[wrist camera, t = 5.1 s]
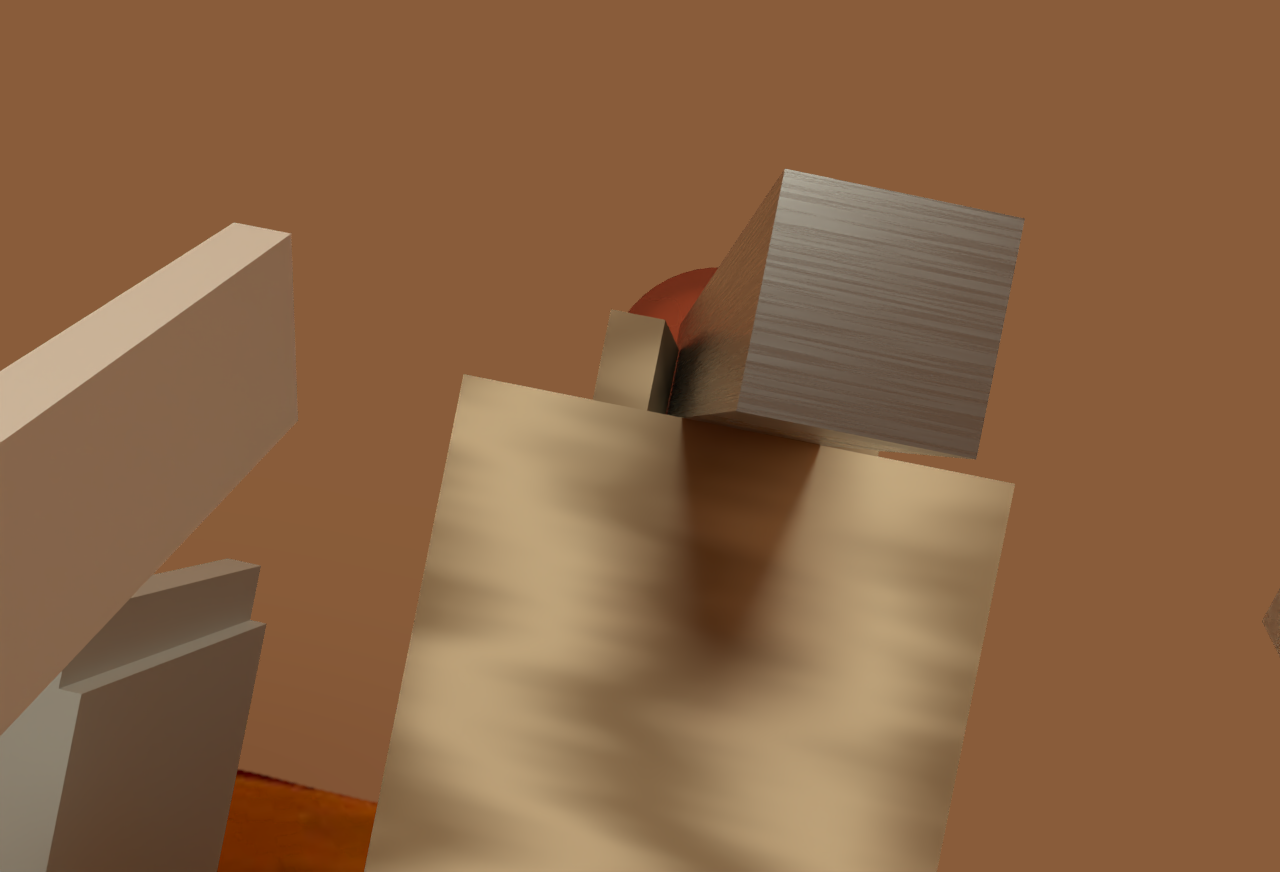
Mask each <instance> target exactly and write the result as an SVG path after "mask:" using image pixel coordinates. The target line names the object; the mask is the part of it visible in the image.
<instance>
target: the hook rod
mask: <svg viewBox="0 0 1280 872" xmlns="http://www.w3.org/2000/svg"><path fill="white" fill-rule="evenodd" d="M1023 224H1024V218H1019V217H1014V216H1009V215H1004V214H1000V213H995V212H989V211H985V210H980V209H975V208H971V207H966V206H961V205H956V204H951V203H947V202H942V201H937V200H932V199H928V198H923V197H918V196H913V195H908V194H904V193H899V192H894V191H889V190H884V189H880V188H875V187H870V186H865V185H860V184H856V183H851V182H846V181H841V180H836V179H832V178H827V177H822V176H817V175H812V174H807V173H803V172H798V171H793V170H788V169H784V171H783V172H782V174H781V176H780V177H779V178H778V180H777V182H776V183H775V184H774V186H773V187H772V189H771V191H770V192H769V193H768V195H767V196H766V198H765V199H764V201H763V202H762V204H761V205H760V207H759V208H758V210H757V211H756V213H755V214H754V215H753V217H752V218H751V220H750V222H749V223H748V224H747V226H746V227H745V229H744V231H743V232H742V233H741V235H740V236H739V238H738V240H737V241H736V242H735V244H734V245H733V247H732V248H731V250H730V251H729V253H728V254H727V256H726V257H725V259H724V260H723V262H722V263H721V265H720V266H719V268H705V269H697V270H693V271H689V272H686V273H682V274H680V275H677V276H675V277H672V278H670V279H668V280H666V281H664V282H662V283H661V284H659V285H657V286H655V287H654V288H653V289H651V290H650V291H649V292H648V293H646V294H645V295H644V296H643V297H642V298H641V299H640V300H639V301H638V302H637V303H636V304H635V305H633V307H632V308H631V309H630V311H629V312H628V313H632V314H637V315H643V316H648V317H653V318H658V319H663V320H666V323H667V325H668V327H669V329H670V331H671V333H672V335H673V338H674V340H675V342H676V344H677V346H678V348H679V352H678V357H677V362H676V367H675V372H674V377H673V382H672V387H671V392H670V397H669V402H668V407H667V412H666V415H671V416H676V417H681V418H686V419H691V420H696V421H701V422H706V423H711V424H716V425H721V426H726V427H731V428H736V429H741V430H746V431H751V432H756V433H761V434H766V435H771V436H776V437H781V438H786V439H791V440H796V441H801V442H806V443H811V444H816V445H822V446H833V447H844V448H855V449H866V450H878V451H889V452H901V453H911V454H922V455H935V456H945V457H955V458H966V459H976V456H977V452H978V447H979V442H980V437H981V432H982V427H983V423H984V418H985V413H986V408H987V402H988V397H989V393H990V388H991V383H992V378H993V373H994V368H995V363H996V358H997V353H998V348H999V343H1000V338H1001V333H1002V328H1003V323H1004V318H1005V313H1006V308H1007V303H1008V299H1009V294H1010V288H1011V284H1012V278H1013V274H1014V269H1015V264H1016V259H1017V254H1018V249H1019V244H1020V239H1021V234H1022V229H1023Z"/></svg>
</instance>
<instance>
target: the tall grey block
mask: <svg viewBox="0 0 1280 872" xmlns="http://www.w3.org/2000/svg"><path fill="white" fill-rule="evenodd" d="M260 567H261V566H260V565H255V564H251V563H246V562H242V561H236V560H232V559H224V560H219V561H214V562H210V563H206V564H201V565H197V566H192V567H187V568H183V569H178V570H173V571H169V572H164V573H160V574H156V575H152V576H151V577H150V578H149V579H148V580H147V581H146V582H145V583H144V584H143V585H142V586H141V587H140V589H139V590H138V591H137V592H136V593H135V594H134V595H133V596H132V597H131V598H130V599H129V600H128V601H127V602H126V603H125V604H124V605H123V607H122V608H121V609H120V610H119V611H118V612H117V613H116V614H115V615H114V616H113V617H112V618H111V619H110V620H109V621H108V622H107V624H106V625H105V626H104V627H103V628H102V629H101V630H100V631H99V632H98V633H97V634H96V635H95V636H94V637H93V638H92V639H91V640H90V642H89V643H88V644H87V645H86V646H85V647H84V648H83V649H82V650H81V651H80V652H79V653H78V654H77V655H76V656H75V657H74V658H73V660H72V661H71V662H70V663H69V664H68V665H67V666H66V667H65V668H64V669H63V670H62V671H61V672H60V673H59V674H58V675H57V677H56V678H55V679H54V680H53V681H52V682H51V683H50V684H49V685H48V686H47V687H46V688H45V689H44V690H43V691H42V692H41V693H40V695H39V696H38V697H37V698H36V699H35V700H34V701H33V702H32V703H31V704H30V705H29V706H28V707H27V708H26V709H25V710H24V712H23V713H22V714H21V715H20V716H19V717H18V718H17V719H16V720H15V721H14V722H13V723H12V724H11V725H10V726H9V727H8V728H7V730H6V731H5V732H4V733H3V734H2V735H1V736H0V872H217V869H218V864H219V859H220V854H221V849H222V844H223V839H224V834H225V829H226V824H227V819H228V814H229V809H230V804H231V799H232V794H233V789H234V784H235V779H236V774H237V769H238V764H239V759H240V754H241V749H242V744H243V739H244V734H245V728H246V724H247V719H248V714H249V709H250V704H251V699H252V693H253V688H254V684H255V678H256V673H257V669H258V664H259V659H260V653H261V648H262V643H263V639H264V633H265V628H266V624H265V623H261V622H256V621H252V620H250V617H251V612H252V607H253V602H254V597H255V592H256V587H257V582H258V577H259V572H260Z"/></svg>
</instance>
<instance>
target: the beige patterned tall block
mask: <svg viewBox="0 0 1280 872" xmlns="http://www.w3.org/2000/svg"><path fill="white" fill-rule="evenodd" d="M678 352H679V348H678V346H677V344H676V342H675V340H674V338H673V335H672V333H671V331H670V329H669V327H668V325H667V323H666V320H663V319H658V318H653V317H648V316H643V315H637V314H632V313H626V312H622V311H616V310H611V312H610V317H609V322H608V327H607V332H606V337H605V342H604V347H603V352H602V357H601V362H600V367H599V372H598V377H597V382H596V387H595V392H594V397H593V400H590V399H585V398H580V397H575V396H570V395H565V394H560V393H555V392H550V391H545V390H540V389H535V388H530V387H525V386H520V385H515V384H510V383H505V382H500V381H494V380H490V379H484V378H480V377H475V376H470V375H465V374H464V375H463V381H462V385H461V391H460V395H459V400H458V405H457V410H456V415H455V420H454V425H453V431H452V435H451V441H450V445H449V451H448V455H447V461H446V465H445V470H444V475H443V481H442V486H441V491H440V495H439V500H438V506H437V511H436V515H435V521H434V525H433V530H432V536H431V540H430V545H429V550H428V555H427V561H426V566H425V570H424V576H423V580H422V585H421V590H420V595H419V600H418V605H417V611H416V615H415V620H414V625H413V630H412V636H411V640H410V645H409V651H408V656H407V660H406V665H405V670H404V675H403V680H402V685H401V690H400V695H399V700H398V706H397V711H396V716H395V720H394V725H393V731H392V735H391V741H390V745H389V751H388V756H387V760H386V766H385V771H384V775H383V780H382V785H381V790H380V795H379V800H378V805H377V810H376V815H375V820H374V825H373V830H372V835H371V840H370V845H369V850H368V855H367V860H366V865H365V870H364V872H937V867H938V862H939V857H940V852H941V847H942V843H943V837H944V833H945V828H946V823H947V818H948V813H949V808H950V803H951V798H952V792H953V788H954V783H955V778H956V773H957V768H958V763H959V758H960V753H961V748H962V743H963V738H964V734H965V729H966V723H967V718H968V714H969V709H970V704H971V699H972V694H973V689H974V684H975V679H976V674H977V669H978V664H979V659H980V654H981V649H982V644H983V639H984V635H985V630H986V625H987V619H988V615H989V610H990V605H991V600H992V595H993V589H994V585H995V580H996V575H997V570H998V565H999V560H1000V555H1001V550H1002V545H1003V540H1004V536H1005V530H1006V526H1007V521H1008V516H1009V510H1010V506H1011V501H1012V496H1013V491H1014V486H1015V484H1012V483H1007V482H1002V481H997V480H992V479H987V478H982V477H977V476H972V475H967V474H962V473H957V472H952V471H947V470H942V469H937V468H932V467H927V466H922V465H917V464H911V463H907V462H902V461H897V460H892V459H886V458H881V457H878V452H879V451H878V450H866V449H855V448H844V447H833V446H822V445H816V444H811V443H806V442H801V441H796V440H791V439H786V438H781V437H776V436H771V435H766V434H761V433H756V432H751V431H746V430H741V429H736V428H731V427H726V426H721V425H716V424H711V423H706V422H701V421H696V420H691V419H686V418H681V417H676V416H671V415H666V412H667V407H668V402H669V397H670V392H671V387H672V382H673V377H674V372H675V367H676V362H677V357H678Z"/></svg>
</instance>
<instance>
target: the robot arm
mask: <svg viewBox="0 0 1280 872" xmlns="http://www.w3.org/2000/svg"><path fill="white" fill-rule="evenodd" d="M293 302H294V301H293V273H292V246H291V234H290V233H285V232H279V231H275V230H270V229H264V228H259V227H254V226H248V225H244V224H238V223H233V224H231V225H230V226H228V227H226V228H225V229H223V230H222V231H220V232H219V233H217V234H216V235H214V236H212V237H211V238H209V239H208V240H206V241H204V242H203V243H201V244H200V245H198V246H197V247H195V248H193V249H192V250H190V251H189V252H187V253H186V254H184V255H182V256H181V257H179V258H178V259H176V260H175V261H173V262H172V263H170V264H168V265H167V266H165V267H164V268H162V269H161V270H159V271H157V272H156V273H154V274H153V275H151V276H150V277H148V278H146V279H145V280H143V281H142V282H140V283H138V284H137V285H135V286H134V287H132V288H131V289H129V290H127V291H126V292H124V293H123V294H121V295H120V296H118V297H116V298H115V299H113V300H112V301H110V302H109V303H107V304H106V305H104V306H102V307H101V308H99V309H98V310H96V311H95V312H93V313H91V314H90V315H88V316H87V317H85V318H83V319H82V320H80V321H79V322H77V323H76V324H74V325H72V326H71V327H69V328H68V329H66V330H65V331H63V332H62V333H60V334H58V335H57V336H55V337H54V338H52V339H50V340H49V341H47V342H46V343H44V344H42V345H41V346H39V347H38V348H36V349H35V350H33V351H32V352H30V353H29V354H27V355H25V356H24V357H22V358H21V359H19V360H17V361H16V362H14V363H13V364H11V365H10V366H8V367H6V368H5V369H3V370H2V371H0V736H1V735H2V734H3V733H4V732H5V731H6V730H7V728H8V727H9V726H10V725H11V724H12V723H13V722H14V721H15V720H16V719H17V718H18V717H19V716H20V715H21V714H22V713H23V712H24V710H25V709H26V708H27V707H28V706H29V705H30V704H31V703H32V702H33V701H34V700H35V699H36V698H37V697H38V696H39V695H40V693H41V692H42V691H43V690H44V689H45V688H46V687H47V686H48V685H49V684H50V683H51V682H52V681H53V680H54V679H55V678H56V677H57V675H58V674H59V673H60V672H61V671H62V670H63V669H64V668H65V667H66V666H67V665H68V664H69V663H70V662H71V661H72V660H73V658H74V657H75V656H76V655H77V654H78V653H79V652H80V651H81V650H82V649H83V648H84V647H85V646H86V645H87V644H88V643H89V642H90V640H91V639H92V638H93V637H94V636H95V635H96V634H97V633H98V632H99V631H100V630H101V629H102V628H103V627H104V626H105V625H106V624H107V622H108V621H109V620H110V619H111V618H112V617H113V616H114V615H115V614H116V613H117V612H118V611H119V610H120V609H121V608H122V607H123V605H124V604H125V603H126V602H127V601H128V600H129V599H130V598H131V597H132V596H133V595H134V594H135V593H136V592H137V591H138V590H139V589H140V587H141V586H142V585H143V584H144V583H145V582H146V581H147V580H148V579H149V578H150V577H151V576H152V575H153V574H154V573H155V571H156V570H157V569H158V568H159V567H160V566H161V565H162V564H163V563H164V562H165V561H166V560H167V559H168V558H169V557H170V556H171V555H172V553H173V552H174V551H175V550H176V549H177V548H178V547H179V546H180V545H181V544H182V543H183V542H184V541H185V540H186V539H187V537H188V536H189V535H190V534H191V533H192V532H193V531H194V530H195V529H196V528H197V527H198V526H199V525H200V524H201V523H202V521H204V520H205V519H206V517H207V516H208V515H209V514H210V513H211V512H212V511H213V510H214V509H215V508H216V507H217V506H218V505H219V504H220V503H221V502H222V500H223V499H224V498H225V497H226V496H227V495H228V494H229V493H230V492H231V491H232V490H233V489H234V488H235V487H236V486H237V485H238V484H239V482H240V481H241V480H242V479H243V478H244V477H245V476H246V475H247V474H248V473H249V472H250V471H251V470H252V469H253V468H254V467H255V466H256V464H257V463H258V462H259V461H260V460H261V459H262V458H263V457H264V456H265V455H266V454H267V453H268V452H269V451H270V450H271V448H272V447H273V446H274V445H275V444H276V443H277V442H278V441H279V440H280V439H281V438H282V437H283V436H284V435H285V434H286V433H287V432H288V431H289V429H290V428H291V427H292V426H293V425H294V424H295V423H296V422H297V421H298V412H297V387H296V386H297V384H296V358H295V357H296V356H295V332H294V330H295V328H294V303H293ZM1262 622H1263V624H1264V626H1265V628H1266V630H1267V632H1268V634H1269V636H1270V638H1271V640H1272V642H1273V644H1274V646H1275V648H1276V650H1277V652H1278V654H1279V656H1280V589H1279V591H1278V593H1277V595H1276V597H1275V598H1274V600H1273V602H1272V604H1271V606H1270V607H1269V610H1268V611H1267V613H1266V615H1265V617H1264V618H1263V621H1262Z"/></svg>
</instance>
